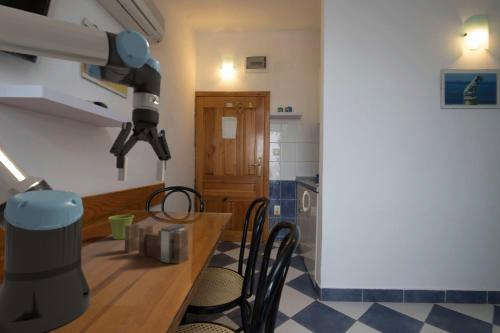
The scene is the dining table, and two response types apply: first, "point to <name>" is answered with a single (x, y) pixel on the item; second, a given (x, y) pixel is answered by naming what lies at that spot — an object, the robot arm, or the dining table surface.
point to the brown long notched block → (154, 242)
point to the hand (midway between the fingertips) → (142, 180)
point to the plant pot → (120, 225)
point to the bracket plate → (169, 241)
